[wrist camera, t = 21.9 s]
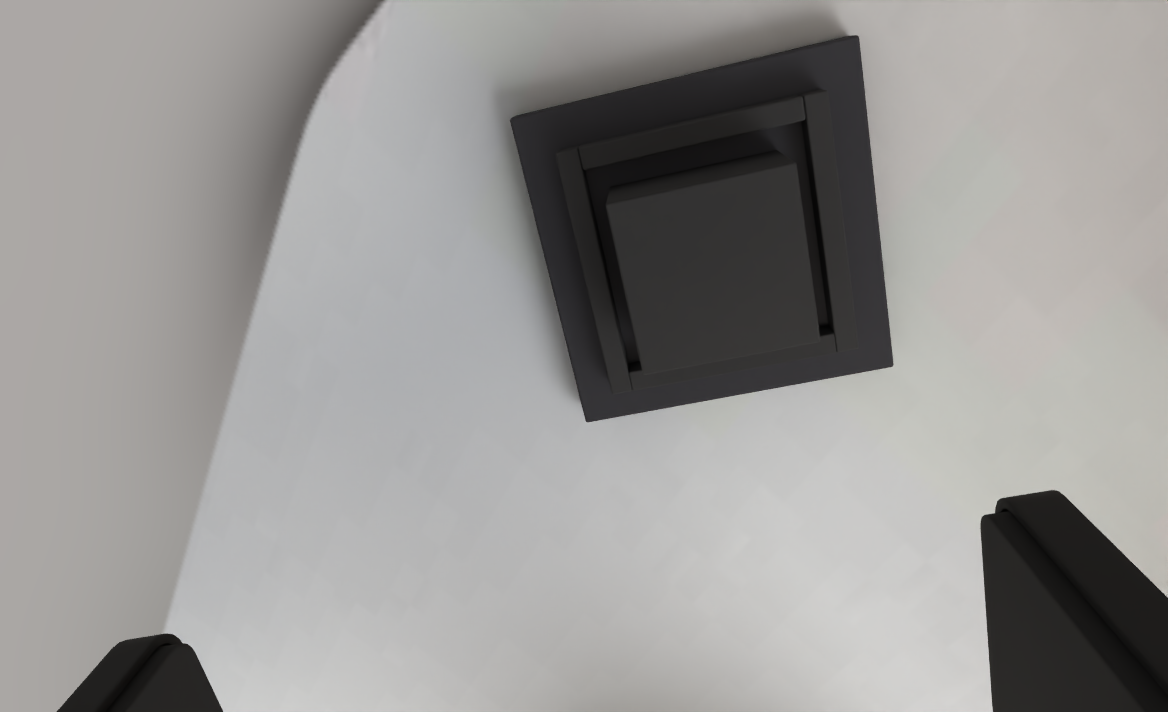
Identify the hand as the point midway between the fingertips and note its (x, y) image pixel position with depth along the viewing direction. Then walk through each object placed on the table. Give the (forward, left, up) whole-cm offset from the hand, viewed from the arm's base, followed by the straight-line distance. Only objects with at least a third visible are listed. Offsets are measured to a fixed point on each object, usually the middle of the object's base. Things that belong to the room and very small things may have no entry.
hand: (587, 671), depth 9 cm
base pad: (+3, -1, -23) cm, 23 cm away
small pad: (+3, -1, -21) cm, 22 cm away
